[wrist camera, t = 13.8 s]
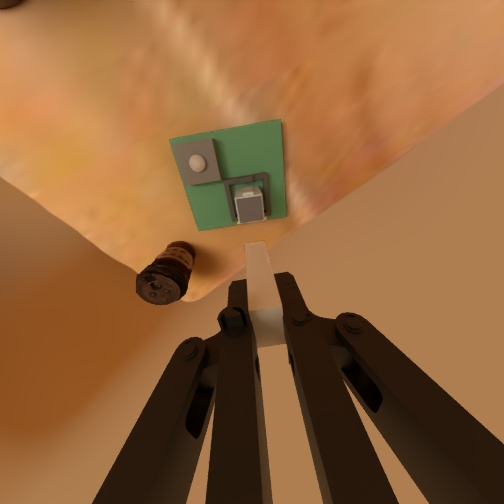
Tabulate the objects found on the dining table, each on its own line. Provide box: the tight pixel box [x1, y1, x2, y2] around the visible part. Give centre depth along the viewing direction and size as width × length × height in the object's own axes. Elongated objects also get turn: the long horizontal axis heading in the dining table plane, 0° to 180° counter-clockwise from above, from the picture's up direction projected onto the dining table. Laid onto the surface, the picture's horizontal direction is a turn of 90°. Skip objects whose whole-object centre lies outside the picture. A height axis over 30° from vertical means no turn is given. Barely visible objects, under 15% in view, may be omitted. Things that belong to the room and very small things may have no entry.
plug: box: [235, 185, 265, 224], centre depth 30 cm, size 4×4×8 cm
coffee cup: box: [136, 241, 195, 305], centre depth 35 cm, size 9×8×13 cm
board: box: [169, 119, 287, 231], centre depth 32 cm, size 16×18×5 cm
